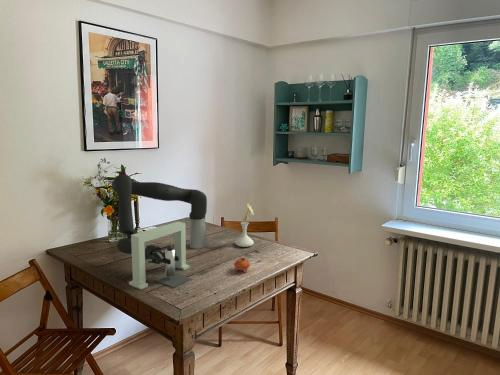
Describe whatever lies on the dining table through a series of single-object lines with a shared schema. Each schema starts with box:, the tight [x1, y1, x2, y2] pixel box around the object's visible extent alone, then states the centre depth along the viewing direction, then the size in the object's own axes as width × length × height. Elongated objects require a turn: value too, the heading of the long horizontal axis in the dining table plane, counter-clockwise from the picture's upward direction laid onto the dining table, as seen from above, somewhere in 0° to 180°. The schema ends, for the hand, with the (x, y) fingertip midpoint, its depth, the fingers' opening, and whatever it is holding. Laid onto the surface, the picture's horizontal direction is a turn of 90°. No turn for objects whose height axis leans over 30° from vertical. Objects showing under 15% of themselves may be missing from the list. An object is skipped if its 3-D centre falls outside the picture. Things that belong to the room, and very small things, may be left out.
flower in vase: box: [234, 203, 255, 248], centre depth 214 cm, size 13×11×25 cm
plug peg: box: [164, 244, 176, 277], centre depth 165 cm, size 4×4×14 cm
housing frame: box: [128, 221, 190, 290], centre depth 168 cm, size 8×30×23 cm, turn 145°
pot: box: [233, 257, 251, 273], centre depth 178 cm, size 8×8×7 cm
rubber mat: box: [156, 272, 192, 289], centre depth 165 cm, size 11×11×1 cm
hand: (174, 260), depth 163 cm, fingers closed on plug peg, 4 cm apart
